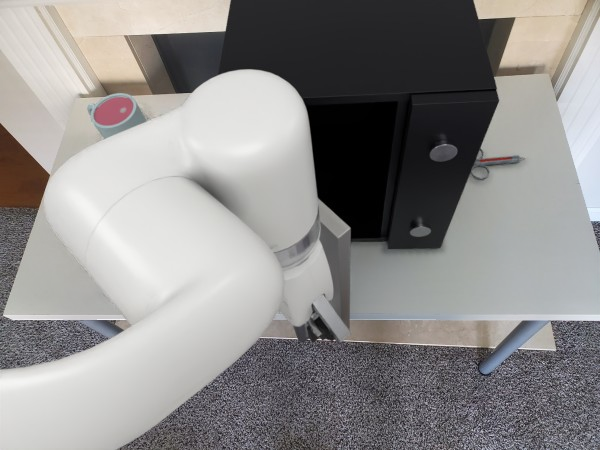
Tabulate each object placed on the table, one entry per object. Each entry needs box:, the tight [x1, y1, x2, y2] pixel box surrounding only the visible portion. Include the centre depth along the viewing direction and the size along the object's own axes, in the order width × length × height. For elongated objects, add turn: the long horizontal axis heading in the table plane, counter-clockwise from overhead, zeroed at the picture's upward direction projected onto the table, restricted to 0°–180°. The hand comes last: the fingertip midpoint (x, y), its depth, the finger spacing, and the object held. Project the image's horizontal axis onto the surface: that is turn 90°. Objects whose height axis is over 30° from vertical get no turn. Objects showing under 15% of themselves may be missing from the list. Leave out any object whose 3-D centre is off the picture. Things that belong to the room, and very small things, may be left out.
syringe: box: [470, 148, 528, 181], centre depth 84 cm, size 8×18×2 cm, turn 92°
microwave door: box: [292, 199, 352, 343], centre depth 59 cm, size 7×22×35 cm, turn 40°
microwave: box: [217, 0, 500, 250], centre depth 70 cm, size 30×31×35 cm
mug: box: [86, 92, 148, 139], centre depth 92 cm, size 14×9×10 cm
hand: (294, 298), depth 49 cm, fingers open, 9 cm apart
